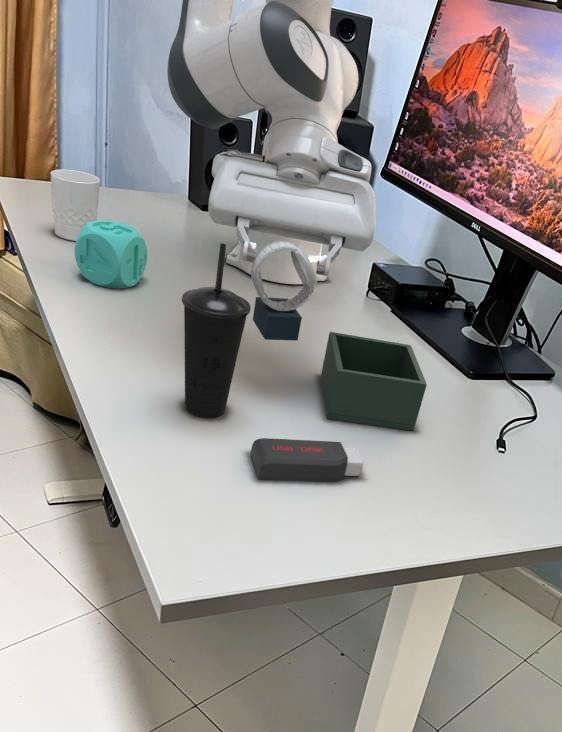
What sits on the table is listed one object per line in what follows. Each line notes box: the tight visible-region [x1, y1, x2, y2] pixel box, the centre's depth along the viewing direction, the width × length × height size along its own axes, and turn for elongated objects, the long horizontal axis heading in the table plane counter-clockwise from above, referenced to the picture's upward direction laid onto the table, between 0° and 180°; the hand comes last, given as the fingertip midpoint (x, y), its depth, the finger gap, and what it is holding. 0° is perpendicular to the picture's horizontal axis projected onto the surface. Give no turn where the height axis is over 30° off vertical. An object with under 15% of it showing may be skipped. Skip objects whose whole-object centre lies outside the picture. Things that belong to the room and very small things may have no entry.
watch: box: [250, 241, 318, 342], centre depth 94 cm, size 6×8×11 cm
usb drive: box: [250, 437, 364, 483], centre depth 86 cm, size 5×12×3 cm, turn 106°
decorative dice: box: [74, 220, 148, 289], centre depth 119 cm, size 8×8×8 cm
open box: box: [320, 331, 428, 432], centre depth 102 cm, size 13×12×7 cm
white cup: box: [50, 169, 101, 242], centre depth 133 cm, size 8×8×10 cm
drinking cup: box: [181, 242, 252, 419], centre depth 88 cm, size 8×8×20 cm
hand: (286, 266), depth 92 cm, fingers closed on watch, 7 cm apart
